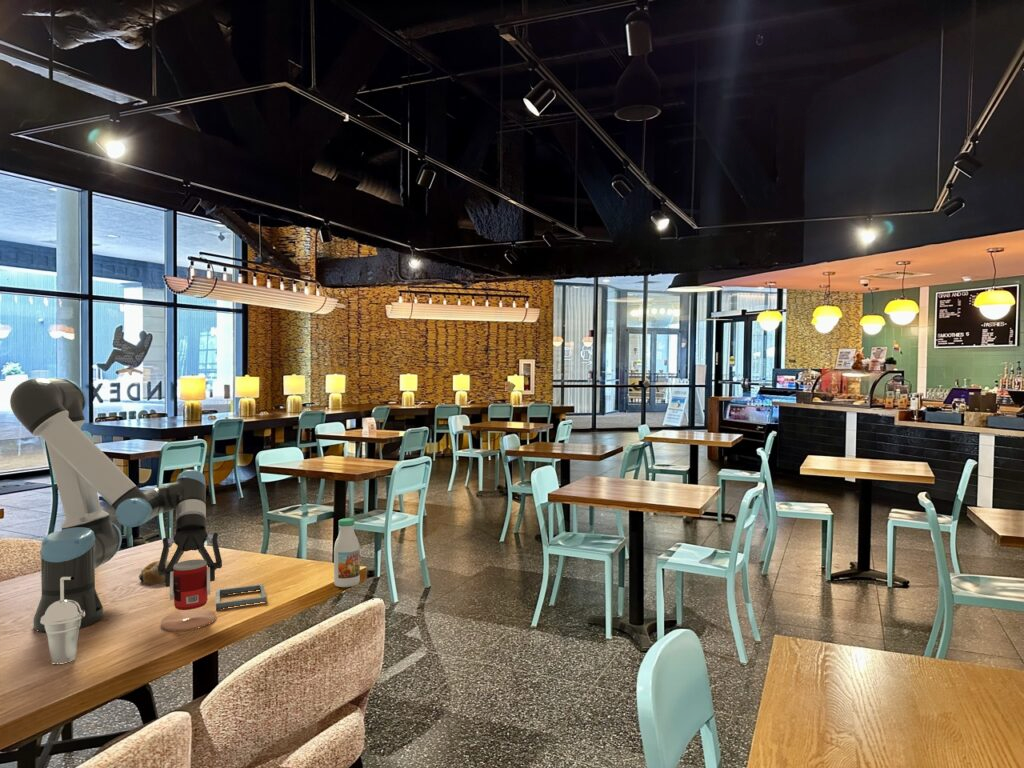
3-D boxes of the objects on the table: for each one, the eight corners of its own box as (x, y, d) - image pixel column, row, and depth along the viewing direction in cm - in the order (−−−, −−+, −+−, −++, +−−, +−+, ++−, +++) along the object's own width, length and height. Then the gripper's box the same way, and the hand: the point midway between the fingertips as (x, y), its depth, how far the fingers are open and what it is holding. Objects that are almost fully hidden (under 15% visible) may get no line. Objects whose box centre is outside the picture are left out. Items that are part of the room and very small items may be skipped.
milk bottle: (329, 586, 201) (329, 521, 201) (341, 579, 209) (341, 516, 208) (352, 588, 199) (352, 522, 199) (364, 581, 207) (363, 517, 207)
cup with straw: (87, 650, 155) (86, 565, 155) (83, 665, 147) (82, 575, 147) (43, 657, 151) (42, 570, 151) (37, 673, 143) (36, 581, 143)
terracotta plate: (180, 635, 164) (180, 631, 164) (149, 624, 171) (149, 621, 171) (226, 618, 175) (226, 614, 175) (196, 609, 182) (196, 606, 182)
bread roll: (159, 597, 203) (170, 574, 203) (129, 583, 203) (140, 559, 203) (176, 587, 213) (186, 564, 212) (147, 573, 213) (158, 551, 213)
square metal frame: (266, 603, 187) (266, 597, 187) (215, 610, 181) (215, 603, 181) (263, 589, 198) (263, 583, 198) (215, 595, 193) (215, 589, 193)
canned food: (214, 601, 176) (213, 560, 175) (192, 611, 168) (191, 568, 168) (190, 598, 178) (189, 558, 178) (167, 609, 170) (166, 566, 170)
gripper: (231, 523, 191) (233, 595, 176) (149, 531, 182) (145, 607, 168) (231, 508, 186) (234, 581, 172) (147, 515, 177) (143, 593, 163)
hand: (190, 594), depth 170 cm, fingers closed on canned food, 8 cm apart
